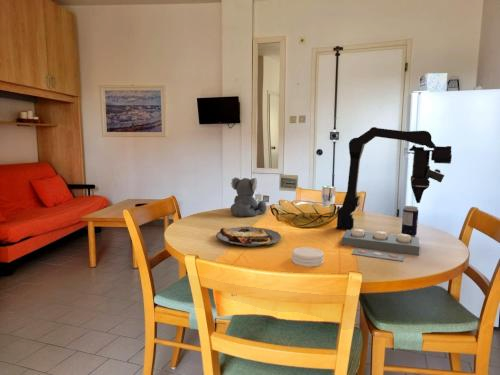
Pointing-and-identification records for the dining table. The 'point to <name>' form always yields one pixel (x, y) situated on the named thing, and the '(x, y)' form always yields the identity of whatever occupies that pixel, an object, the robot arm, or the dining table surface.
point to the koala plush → (246, 198)
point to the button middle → (380, 235)
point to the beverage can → (410, 220)
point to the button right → (403, 238)
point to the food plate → (248, 236)
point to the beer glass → (328, 195)
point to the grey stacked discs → (307, 257)
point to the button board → (381, 243)
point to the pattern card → (378, 254)
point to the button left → (358, 232)
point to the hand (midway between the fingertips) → (417, 201)
